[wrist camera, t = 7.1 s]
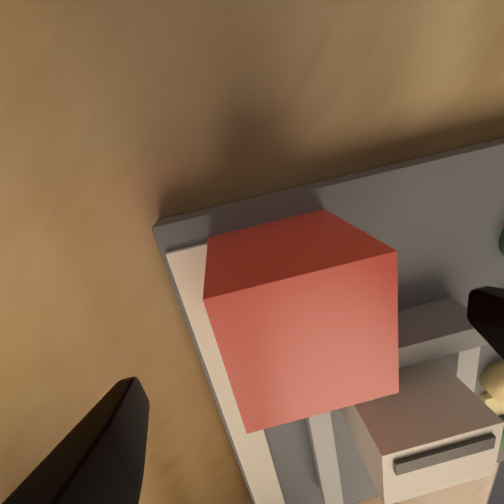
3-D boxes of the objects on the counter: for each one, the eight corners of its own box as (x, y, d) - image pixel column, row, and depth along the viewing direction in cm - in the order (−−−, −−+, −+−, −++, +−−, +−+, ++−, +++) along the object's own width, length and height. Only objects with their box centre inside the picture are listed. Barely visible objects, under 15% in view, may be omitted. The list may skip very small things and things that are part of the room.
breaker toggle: (421, 389, 14) (497, 478, 10) (340, 411, 14) (386, 510, 10) (422, 344, 13) (508, 426, 9) (334, 367, 13) (384, 460, 9)
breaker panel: (486, 442, 19) (536, 497, 16) (259, 505, 18) (268, 575, 15) (540, 128, 11) (655, 122, 8) (158, 219, 11) (136, 247, 8)
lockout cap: (335, 307, 12) (398, 392, 8) (235, 333, 12) (246, 434, 8) (324, 208, 10) (397, 251, 6) (208, 237, 10) (202, 299, 6)
